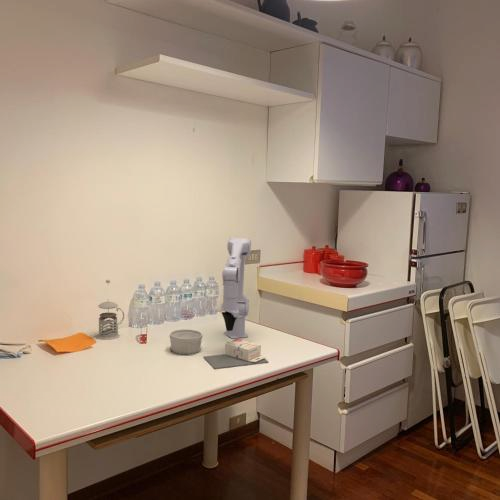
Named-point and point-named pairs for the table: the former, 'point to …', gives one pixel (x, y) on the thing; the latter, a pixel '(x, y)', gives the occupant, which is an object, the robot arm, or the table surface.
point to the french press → (108, 321)
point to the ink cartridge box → (243, 350)
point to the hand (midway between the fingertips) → (229, 330)
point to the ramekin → (185, 341)
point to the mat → (229, 361)
